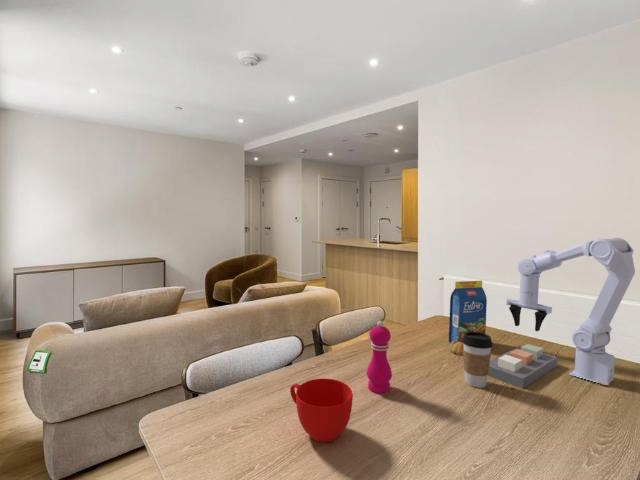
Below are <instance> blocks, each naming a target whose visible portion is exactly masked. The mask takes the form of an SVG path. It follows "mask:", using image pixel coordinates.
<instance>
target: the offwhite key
mask: <svg viewBox="0 0 640 480" xmlns="http://www.w3.org/2000/svg"><path fill="white" fill-rule="evenodd" d="M498 367H501V368H504V369H506V370H509V371H512V372H517V371H519V370H520V369H522V360H521V359H518V358H515V357H512V356H508V355H504V356H502V357H500V358H498Z"/></svg>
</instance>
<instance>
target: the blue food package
mask: <svg viewBox="0 0 640 480" xmlns="http://www.w3.org/2000/svg"><path fill="white" fill-rule="evenodd" d="M454 283H455V285H454V289H453V291H452V292H451V294H450V298H449V318H448V319H449V323H448V325H449V327H448V342H449V343H450V344H451V343H452V341H454V340H455V341H457V342H462V339H463V337H464V333H466V332H480V333H484V334H486V332H487V331H486V330H487V329H486V328H487V303H488V299H487V294H486V291H485V290H484V288H483V280H461V281H455V282H454ZM462 343H463V342H462Z"/></svg>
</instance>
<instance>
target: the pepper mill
mask: <svg viewBox="0 0 640 480" xmlns="http://www.w3.org/2000/svg"><path fill="white" fill-rule="evenodd" d="M369 339H370V341H371V342H370V344H371V345H370V347H371V349H372V355H371V356H372V357H371V360H370V362H369V363H368V366H367V369H366V377H367V379H368V382H367V388H368V390H369V391H371V392H372V393H375V394H381V395H382V394H386V393H388V392H390V389H391V383H390V381H391V380H392V376H393V372H392V368H391V365H390V362H389V361H388V358H387V352H388V350H389V346H390V345H389V343H388V342H390V340H391V332H390V330H389V329H388V327H386V326H384V322H383V321H382V320H378V321H377V323H376V325H375V326H373V327H372V328H371V329H370V331H369Z"/></svg>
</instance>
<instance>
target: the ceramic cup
mask: <svg viewBox="0 0 640 480" xmlns="http://www.w3.org/2000/svg"><path fill="white" fill-rule="evenodd" d="M289 390H290V391H289V392H290V396H291V398H292V401H293V402H294V403H295V405H296V411H297V415H298V416H297V417H298V420H299V423H300V424H301V427H302V428H303V429H304V432H305V433H306V434H307V435H308V436H309V437H310V438H311V439H312V440H313V441H315V442H318V443H323V444H325V443H326V444H327V443H331V442H333V441H335V440H337V439H338V437H339V436H340V435H341V434H342V433H343V432H344V431H345V429H346V428H347V426H348V423H349V421H350V418H351V414H352V408H353V400H354V399H353V398H354V396H353V395H354V394H353V390H352V389H351V387H350V386H348V384H346V383H345V382H343V381H341V380H337V379H332V378H314V379H310V380H306V381H304V382H303V383H301V384H299V383H293V384H291V386H290V389H289Z"/></svg>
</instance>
